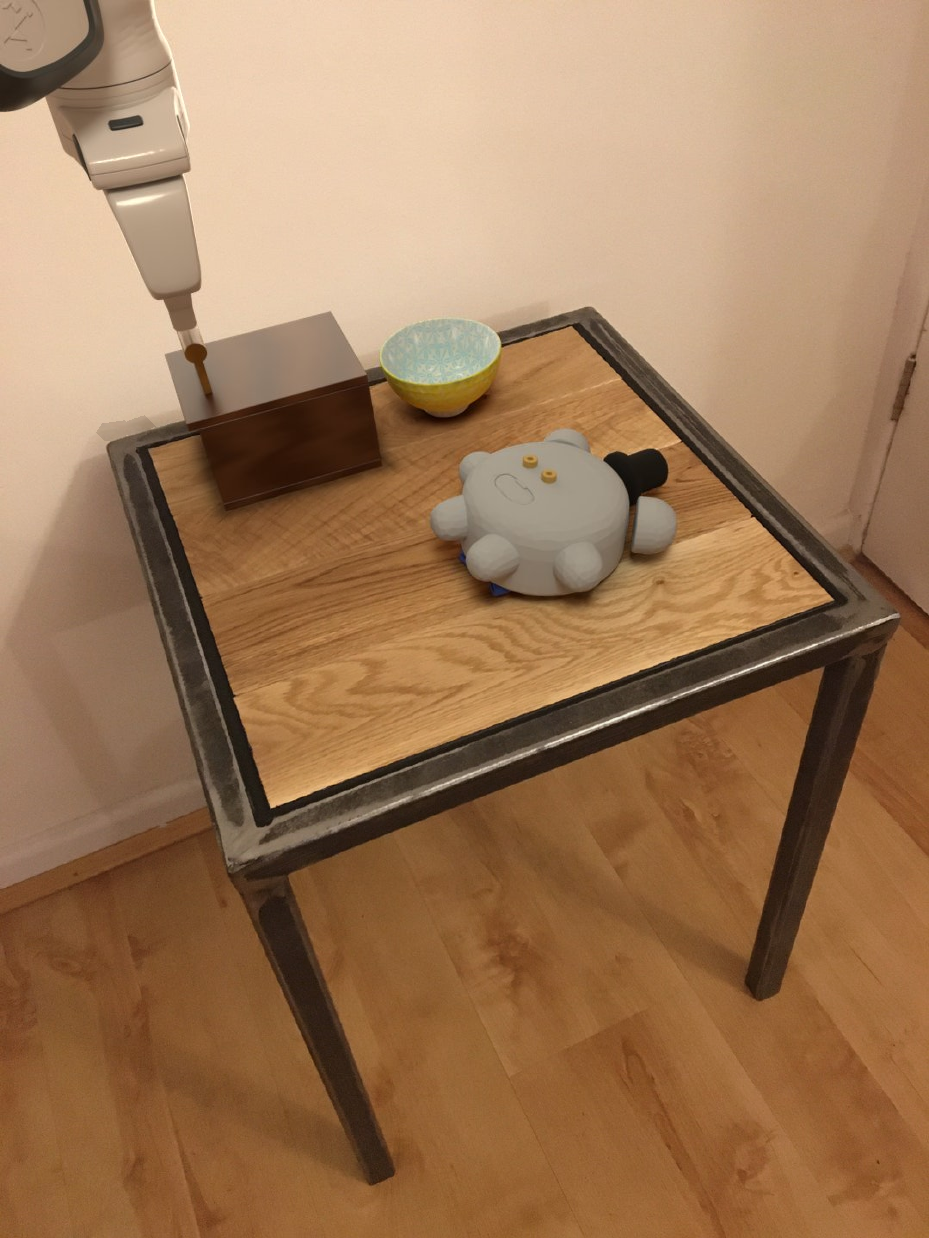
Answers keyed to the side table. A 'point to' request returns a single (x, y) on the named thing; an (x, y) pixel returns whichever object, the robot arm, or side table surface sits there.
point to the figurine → (554, 514)
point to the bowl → (441, 363)
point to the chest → (293, 446)
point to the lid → (261, 369)
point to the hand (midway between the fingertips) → (174, 298)
